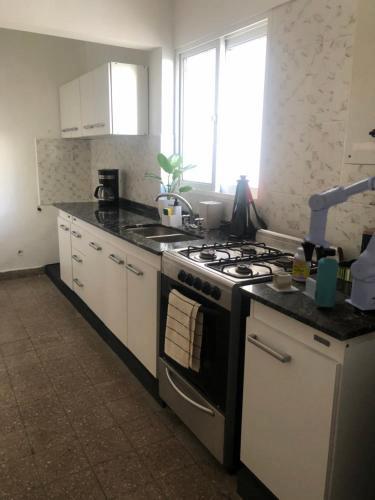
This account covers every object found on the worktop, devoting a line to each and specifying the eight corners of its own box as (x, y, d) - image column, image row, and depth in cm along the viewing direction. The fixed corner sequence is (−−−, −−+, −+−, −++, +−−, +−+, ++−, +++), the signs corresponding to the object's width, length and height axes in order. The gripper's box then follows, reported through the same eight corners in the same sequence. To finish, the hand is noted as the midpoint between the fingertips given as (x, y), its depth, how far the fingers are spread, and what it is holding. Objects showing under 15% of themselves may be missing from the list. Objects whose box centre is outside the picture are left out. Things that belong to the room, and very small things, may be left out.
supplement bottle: (288, 279, 170) (291, 248, 167) (297, 276, 174) (300, 246, 172) (302, 282, 165) (305, 251, 162) (312, 280, 170) (315, 249, 167)
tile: (299, 290, 155) (299, 289, 155) (277, 292, 152) (277, 290, 152) (286, 283, 163) (287, 282, 163) (265, 284, 161) (266, 283, 161)
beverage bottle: (338, 310, 135) (345, 250, 131) (320, 312, 133) (326, 251, 129) (326, 304, 141) (332, 246, 137) (309, 305, 139) (314, 246, 135)
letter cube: (291, 288, 156) (292, 274, 155) (278, 289, 155) (279, 275, 153) (284, 284, 161) (285, 271, 159) (272, 285, 159) (273, 271, 158)
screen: (321, 300, 145) (323, 283, 144) (314, 300, 144) (316, 283, 143) (309, 293, 153) (310, 277, 151) (302, 293, 152) (304, 277, 150)
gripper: (297, 224, 157) (294, 259, 160) (319, 231, 144) (315, 269, 147) (313, 224, 159) (310, 258, 162) (337, 230, 146) (332, 268, 149)
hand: (313, 263), depth 155 cm, fingers open, 7 cm apart
